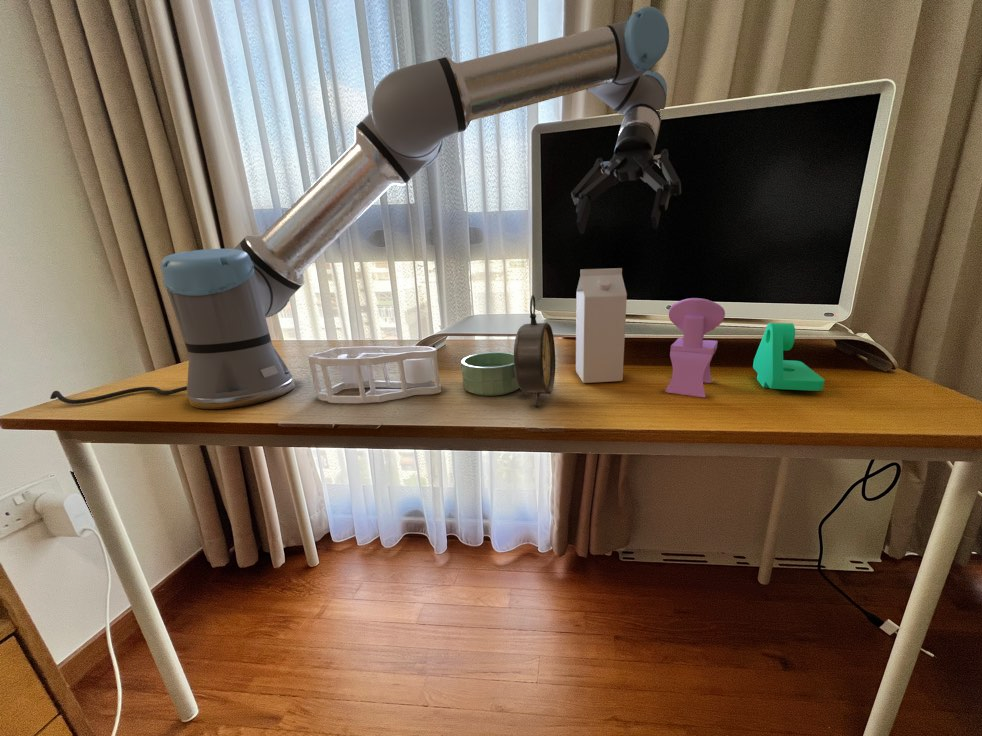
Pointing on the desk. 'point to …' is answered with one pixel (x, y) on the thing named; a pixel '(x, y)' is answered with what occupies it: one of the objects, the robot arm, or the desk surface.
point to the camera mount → (782, 362)
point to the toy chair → (693, 345)
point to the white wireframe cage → (360, 373)
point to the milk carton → (600, 325)
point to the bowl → (489, 373)
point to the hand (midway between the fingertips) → (615, 226)
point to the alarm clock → (534, 357)
